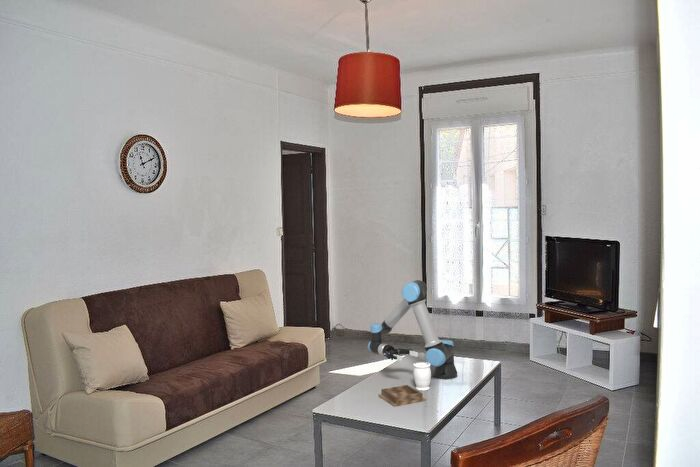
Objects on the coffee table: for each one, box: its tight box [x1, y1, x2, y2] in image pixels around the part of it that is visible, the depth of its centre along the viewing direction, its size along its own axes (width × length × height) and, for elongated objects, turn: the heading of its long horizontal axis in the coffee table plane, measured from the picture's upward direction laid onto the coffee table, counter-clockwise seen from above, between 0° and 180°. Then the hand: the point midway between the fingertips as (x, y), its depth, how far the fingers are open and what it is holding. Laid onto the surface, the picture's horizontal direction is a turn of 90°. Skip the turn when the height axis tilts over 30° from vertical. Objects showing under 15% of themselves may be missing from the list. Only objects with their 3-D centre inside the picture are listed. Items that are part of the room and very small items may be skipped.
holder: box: [377, 384, 427, 408], centre depth 311 cm, size 20×20×4 cm
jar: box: [413, 361, 432, 392], centre depth 327 cm, size 11×10×15 cm
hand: (409, 356), depth 335 cm, fingers open, 13 cm apart
